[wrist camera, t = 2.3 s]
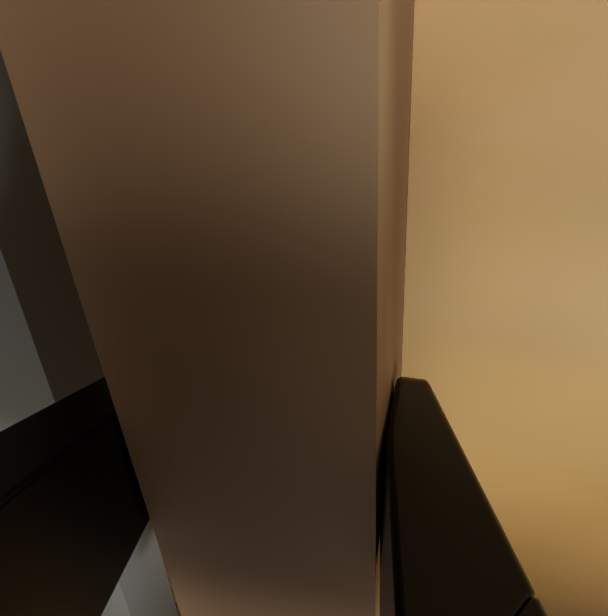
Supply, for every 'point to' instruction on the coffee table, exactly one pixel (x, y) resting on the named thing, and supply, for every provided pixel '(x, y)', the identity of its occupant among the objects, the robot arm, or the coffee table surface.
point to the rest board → (52, 332)
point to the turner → (236, 269)
